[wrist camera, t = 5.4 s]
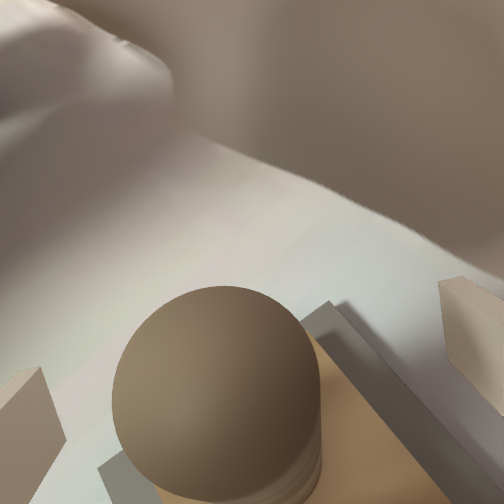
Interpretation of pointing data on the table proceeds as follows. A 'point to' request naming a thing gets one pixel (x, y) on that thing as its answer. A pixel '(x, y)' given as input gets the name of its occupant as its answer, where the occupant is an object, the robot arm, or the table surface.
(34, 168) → the table surface
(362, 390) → the lane board
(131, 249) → the table surface
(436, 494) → the tan wooden stand
